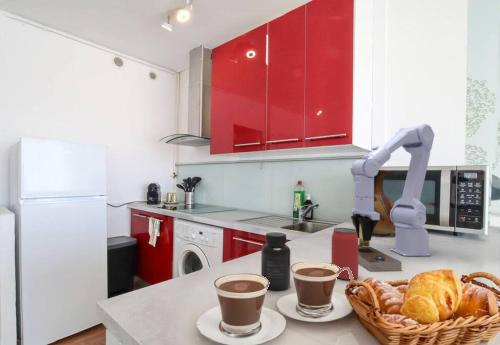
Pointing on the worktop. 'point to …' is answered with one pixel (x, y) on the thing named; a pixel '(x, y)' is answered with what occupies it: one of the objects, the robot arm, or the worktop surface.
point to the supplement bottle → (276, 261)
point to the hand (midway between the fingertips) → (364, 239)
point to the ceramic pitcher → (382, 206)
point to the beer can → (345, 251)
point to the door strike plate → (377, 260)
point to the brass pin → (361, 241)
